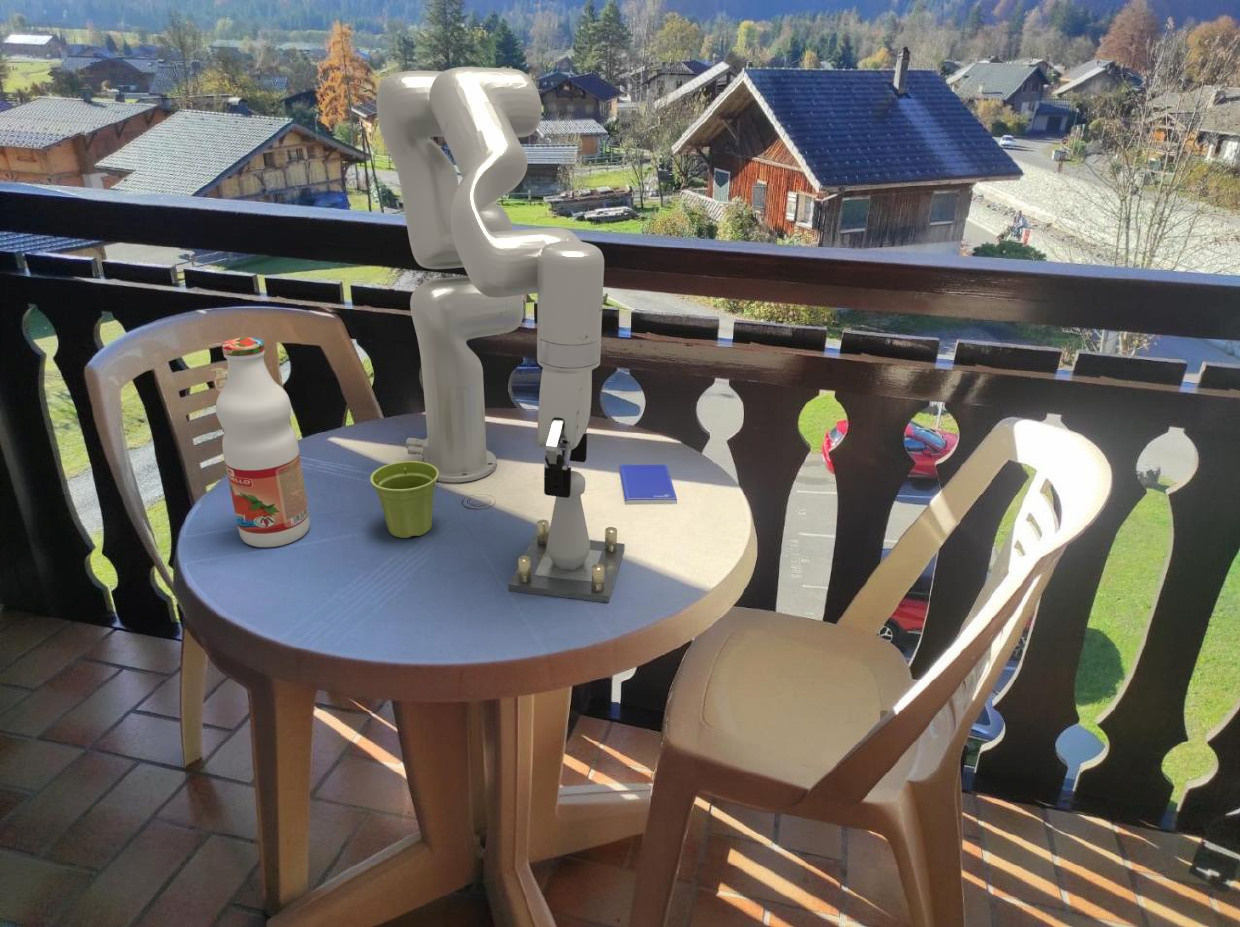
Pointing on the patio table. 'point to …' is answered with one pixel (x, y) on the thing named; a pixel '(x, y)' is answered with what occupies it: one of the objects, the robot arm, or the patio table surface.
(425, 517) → the plant pot
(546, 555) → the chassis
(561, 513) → the salt shaker
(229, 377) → the fruit juice
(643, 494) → the hard drive
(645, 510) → the patio table surface
